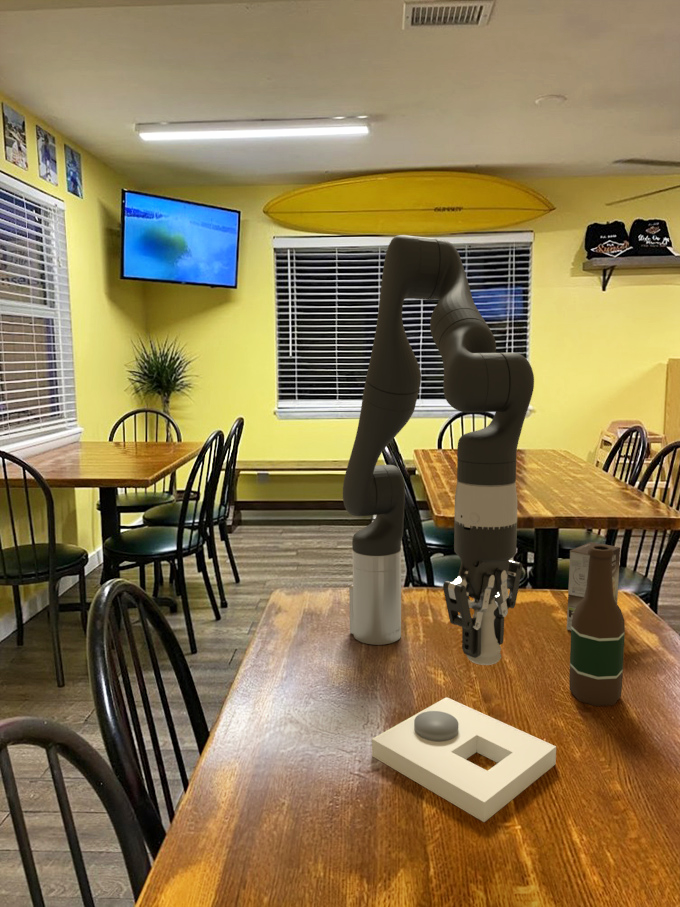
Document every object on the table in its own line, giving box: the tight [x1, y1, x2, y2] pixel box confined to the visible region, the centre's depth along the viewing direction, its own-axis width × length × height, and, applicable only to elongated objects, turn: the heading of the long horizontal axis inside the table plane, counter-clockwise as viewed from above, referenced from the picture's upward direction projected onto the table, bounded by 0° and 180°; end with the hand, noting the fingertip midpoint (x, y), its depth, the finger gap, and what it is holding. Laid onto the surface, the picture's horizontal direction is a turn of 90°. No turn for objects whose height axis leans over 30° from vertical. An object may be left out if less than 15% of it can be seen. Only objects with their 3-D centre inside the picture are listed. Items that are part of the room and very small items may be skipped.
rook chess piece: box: [465, 597, 502, 666], centre depth 84 cm, size 4×4×8 cm
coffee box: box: [566, 541, 621, 632], centre depth 130 cm, size 9×6×16 cm
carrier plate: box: [371, 696, 557, 823], centre depth 88 cm, size 18×16×4 cm
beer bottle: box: [568, 545, 626, 707], centre depth 103 cm, size 8×8×24 cm
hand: (483, 648), depth 84 cm, fingers closed on rook chess piece, 4 cm apart
